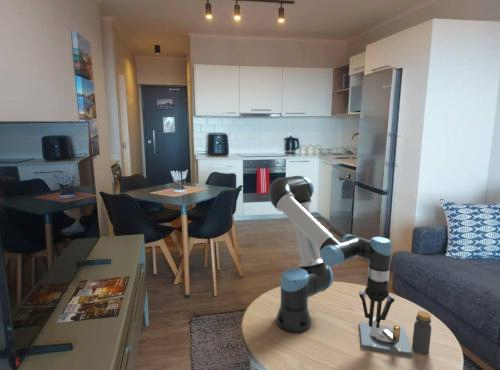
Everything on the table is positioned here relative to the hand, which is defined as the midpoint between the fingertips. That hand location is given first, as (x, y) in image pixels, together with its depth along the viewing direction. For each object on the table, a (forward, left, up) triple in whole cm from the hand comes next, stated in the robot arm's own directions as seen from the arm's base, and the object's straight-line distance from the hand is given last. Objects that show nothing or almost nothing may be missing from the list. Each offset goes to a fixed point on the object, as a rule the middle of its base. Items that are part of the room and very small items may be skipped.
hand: (373, 334), depth 130 cm
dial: (+6, +5, -3) cm, 8 cm away
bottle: (+18, +2, -5) cm, 19 cm away
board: (+5, +5, -5) cm, 9 cm away
